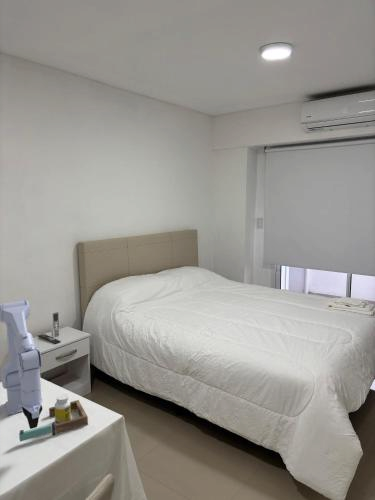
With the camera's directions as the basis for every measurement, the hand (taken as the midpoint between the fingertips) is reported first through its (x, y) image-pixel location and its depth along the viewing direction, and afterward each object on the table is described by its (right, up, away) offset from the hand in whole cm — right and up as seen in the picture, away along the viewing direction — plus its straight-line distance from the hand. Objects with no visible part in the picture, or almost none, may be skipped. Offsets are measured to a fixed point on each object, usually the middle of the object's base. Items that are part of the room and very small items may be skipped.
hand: (33, 426), depth 121 cm
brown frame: (+5, -6, +17) cm, 18 cm away
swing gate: (-2, -6, +6) cm, 9 cm away
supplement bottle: (+4, -6, +16) cm, 18 cm away
